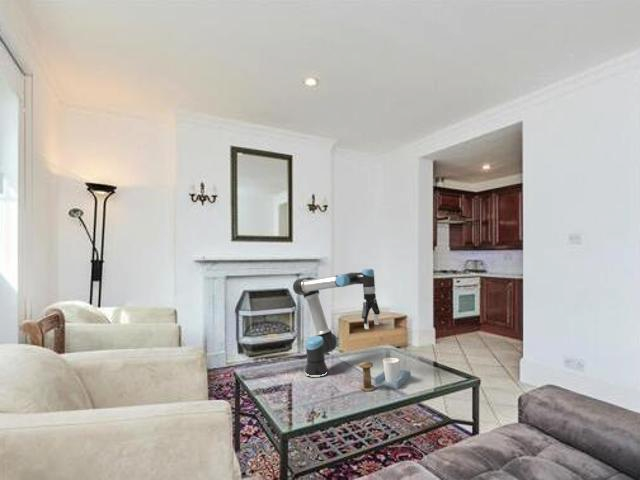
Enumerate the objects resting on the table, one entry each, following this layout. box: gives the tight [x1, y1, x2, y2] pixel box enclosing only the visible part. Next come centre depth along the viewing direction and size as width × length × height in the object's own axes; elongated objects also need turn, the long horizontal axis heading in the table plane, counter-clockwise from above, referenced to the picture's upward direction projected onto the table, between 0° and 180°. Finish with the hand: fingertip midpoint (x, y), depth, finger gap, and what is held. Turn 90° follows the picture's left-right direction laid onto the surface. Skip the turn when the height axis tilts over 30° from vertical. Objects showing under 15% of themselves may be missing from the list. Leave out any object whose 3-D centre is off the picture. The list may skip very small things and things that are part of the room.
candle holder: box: [382, 357, 400, 383], centre depth 206 cm, size 10×10×12 cm
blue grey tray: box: [373, 368, 412, 390], centre depth 207 cm, size 14×20×4 cm
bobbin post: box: [358, 361, 376, 392], centre depth 198 cm, size 8×8×14 cm
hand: (371, 326), depth 219 cm, fingers open, 13 cm apart
